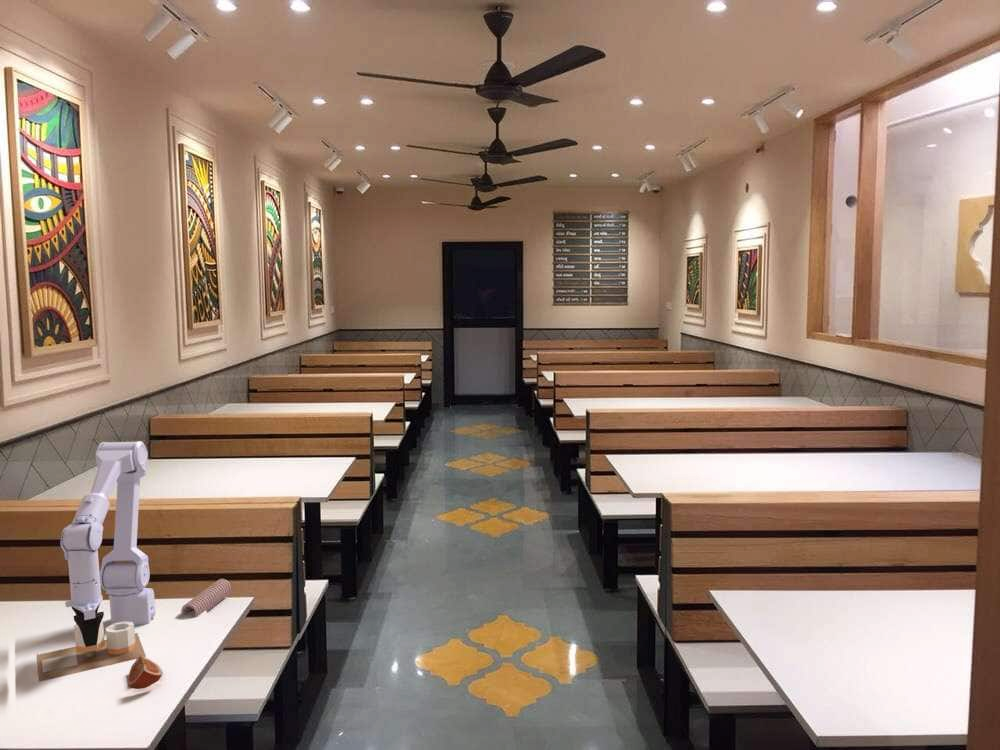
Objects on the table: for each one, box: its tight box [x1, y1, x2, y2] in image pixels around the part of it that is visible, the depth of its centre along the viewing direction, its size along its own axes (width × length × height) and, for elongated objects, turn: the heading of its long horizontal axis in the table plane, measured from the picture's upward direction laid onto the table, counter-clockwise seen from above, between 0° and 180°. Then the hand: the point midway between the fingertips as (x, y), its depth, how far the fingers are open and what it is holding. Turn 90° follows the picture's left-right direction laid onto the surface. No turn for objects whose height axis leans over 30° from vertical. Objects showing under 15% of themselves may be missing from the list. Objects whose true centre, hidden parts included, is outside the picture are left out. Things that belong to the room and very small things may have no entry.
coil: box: [180, 578, 232, 618], centre depth 204 cm, size 5×5×18 cm
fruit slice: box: [126, 655, 164, 690], centre depth 165 cm, size 8×7×5 cm
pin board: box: [36, 632, 147, 682], centre depth 175 cm, size 20×14×5 cm
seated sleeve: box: [105, 621, 136, 655], centre depth 178 cm, size 5×5×5 cm
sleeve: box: [73, 620, 106, 653], centre depth 175 cm, size 5×5×5 cm
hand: (89, 640), depth 175 cm, fingers closed on sleeve, 5 cm apart
